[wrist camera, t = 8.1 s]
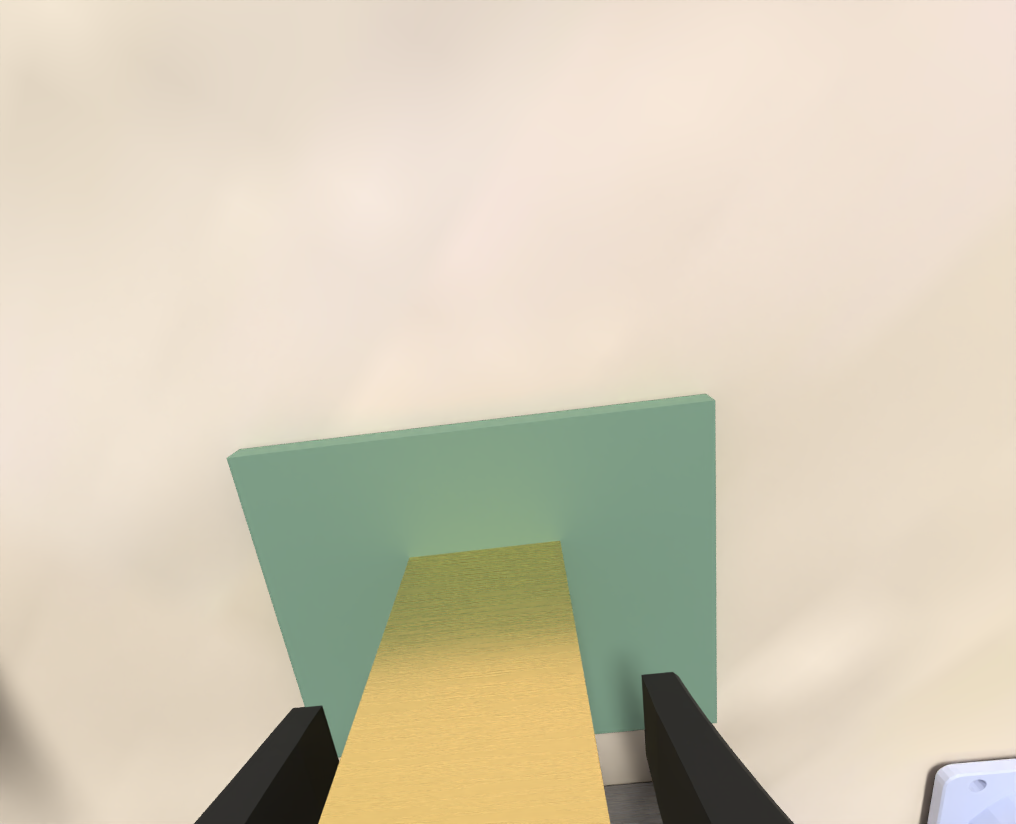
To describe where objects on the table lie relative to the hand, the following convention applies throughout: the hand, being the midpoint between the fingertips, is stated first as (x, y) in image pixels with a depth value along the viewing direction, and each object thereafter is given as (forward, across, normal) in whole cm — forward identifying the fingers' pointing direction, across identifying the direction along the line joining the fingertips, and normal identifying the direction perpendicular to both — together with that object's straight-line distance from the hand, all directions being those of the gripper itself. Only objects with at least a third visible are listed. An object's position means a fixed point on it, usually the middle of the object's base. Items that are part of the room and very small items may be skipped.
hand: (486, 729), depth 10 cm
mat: (+4, 0, 0) cm, 4 cm away
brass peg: (+4, 0, 0) cm, 4 cm away
